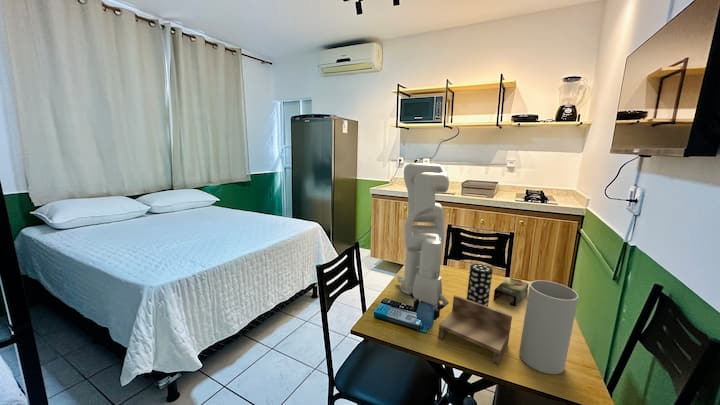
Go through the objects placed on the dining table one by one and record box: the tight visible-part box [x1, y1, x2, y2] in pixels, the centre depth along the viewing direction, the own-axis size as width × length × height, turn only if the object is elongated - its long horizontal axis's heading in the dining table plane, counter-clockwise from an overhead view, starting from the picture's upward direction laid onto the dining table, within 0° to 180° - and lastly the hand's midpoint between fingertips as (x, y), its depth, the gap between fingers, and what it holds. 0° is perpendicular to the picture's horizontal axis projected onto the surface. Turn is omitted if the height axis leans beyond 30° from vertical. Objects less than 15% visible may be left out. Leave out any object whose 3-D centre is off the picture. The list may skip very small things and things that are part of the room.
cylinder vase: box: [518, 279, 579, 375], centre depth 91 cm, size 12×12×25 cm
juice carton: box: [493, 277, 530, 308], centre depth 134 cm, size 20×10×6 cm, turn 136°
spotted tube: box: [466, 263, 493, 307], centre depth 118 cm, size 8×8×20 cm
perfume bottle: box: [415, 300, 435, 329], centre depth 111 cm, size 6×6×12 cm
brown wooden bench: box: [437, 294, 513, 367], centre depth 101 cm, size 20×13×12 cm, turn 51°
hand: (425, 314), depth 112 cm, fingers closed on perfume bottle, 7 cm apart
